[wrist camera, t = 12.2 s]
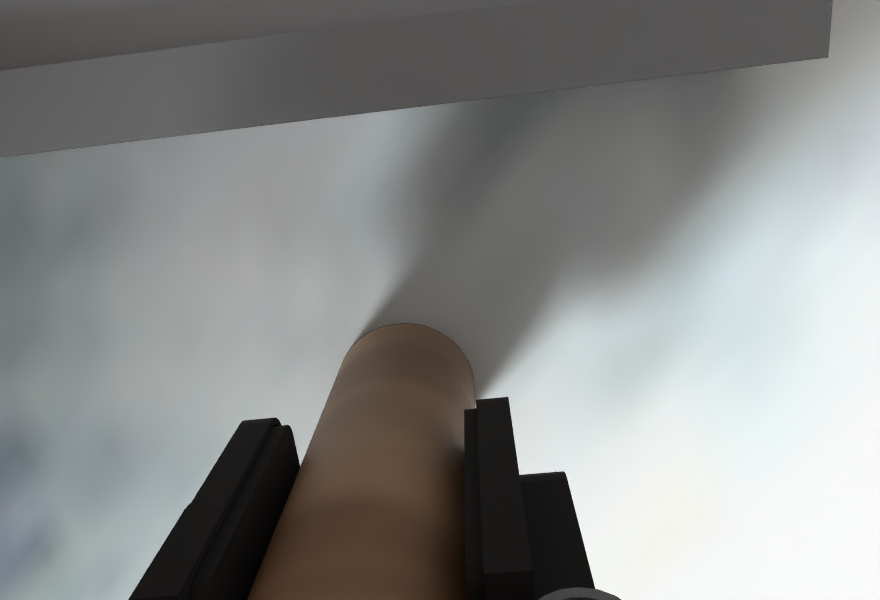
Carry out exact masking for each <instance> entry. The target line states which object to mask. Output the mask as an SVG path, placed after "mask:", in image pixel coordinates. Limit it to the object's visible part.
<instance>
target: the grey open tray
mask: <svg viewBox="0 0 880 600" xmlns="http://www.w3.org/2000/svg"><path fill="white" fill-rule="evenodd" d="M832 1H833V0H0V157H7V156H15V155H23V154H32V153H40V152H48V151H56V150H65V149H73V148H81V147H90V146H98V145H106V144H114V143H123V142H131V141H139V140H148V139H156V138H164V137H172V136H181V135H189V134H197V133H206V132H214V131H222V130H230V129H239V128H247V127H255V126H264V125H272V124H280V123H288V122H297V121H305V120H313V119H322V118H330V117H338V116H346V115H355V114H363V113H371V112H380V111H388V110H396V109H404V108H413V107H421V106H429V105H438V104H446V103H454V102H462V101H471V100H479V99H487V98H496V97H504V96H512V95H520V94H529V93H537V92H545V91H553V90H562V89H570V88H578V87H587V86H595V85H603V84H611V83H620V82H628V81H636V80H645V79H653V78H661V77H669V76H678V75H686V74H694V73H703V72H711V71H719V70H727V69H736V68H744V67H752V66H761V65H769V64H777V63H785V62H794V61H802V60H810V59H819V58H827V57H828V53H829V40H830V27H831V14H832Z"/></svg>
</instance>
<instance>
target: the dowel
mask: <svg viewBox="0 0 880 600" xmlns="http://www.w3.org/2000/svg"><path fill="white" fill-rule="evenodd" d="M464 409H475V395H474V378H473V373H472V370H471V367H470V364H469V362H468V360H467V358H466V356H465V355H464V354H463V352H462V351H461V349H460V348H459V347H458V346H457V345H456V344H455V343H454V342H453V341H451V340H450V339H449V338H448V337H446V336H445V335H443V334H442V333H440V332H438V331H436V330H433V329H431V328H428V327H425V326H421V325H416V324H393V325H387V326H384V327H381V328H378V329H376V330H373V331H371V332H369V333H368V334H366V335H364V336H363V337H362V338H361V339H359V340H358V341H357V342H356V343H355V344H354V345H353V346H352V347H351V349H350V350H349V351H348V353H347V354H346V356H345V358H344V360H343V362H342V365H341V367H340V370H339V372H338V375H337V377H336V380H335V382H334V385H333V387H332V390H331V392H330V395H329V397H328V400H327V402H326V404H325V407H324V409H323V412H322V414H321V417H320V419H319V422H318V424H317V427H316V429H315V432H314V434H313V437H312V439H311V442H310V444H309V447H308V449H307V452H306V454H305V457H304V459H303V462H302V464H301V466H300V469H299V471H298V474H297V476H296V479H295V481H294V484H293V486H292V489H291V491H290V494H289V496H288V499H287V501H286V504H285V506H284V509H283V511H282V514H281V516H280V519H279V521H278V524H277V526H276V529H275V531H274V533H273V536H272V538H271V541H270V543H269V546H268V548H267V551H266V553H265V556H264V558H263V561H262V563H261V566H260V568H259V571H258V573H257V576H256V578H255V581H254V583H253V586H252V588H251V591H250V593H249V595H248V598H247V600H468V593H467V583H466V569H465V475H464Z"/></svg>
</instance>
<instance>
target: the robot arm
mask: <svg viewBox="0 0 880 600" xmlns="http://www.w3.org/2000/svg"><path fill="white" fill-rule="evenodd" d="M299 469H300V464H299V459H298V455H297V450H296V446H295V441H294V437H293V433H292V429H291V428H290V426H289V425H283V426H281V423H280V421H279V420H278V419H277V418H268V419H256V420H245V421H242V422H241V424H240V425H239V427H238V428H237V430H236V431H235V433H234V435H233V436H232V438H231V440H230V441H229V443H228V444H227V446H226V448H225V449H224V451H223V452H222V454H221V456H220V457H219V459H218V461H217V462H216V464H215V465H214V467H213V469H212V470H211V472H210V473H209V475H208V477H207V478H206V480H205V482H204V483H203V485H202V486H201V488H200V490H199V491H198V493H197V494H196V496H195V498H194V499H193V501H192V503H190V504H189V505H188V506H187V508H186V509H185V510H184V512H183V513H182V515H181V516H180V518H179V520H178V521H177V523H176V524H175V526H174V528H173V529H172V531H171V532H170V534H169V536H168V537H167V539H166V540H165V542H164V544H163V545H162V547H161V548H160V550H159V552H158V553H157V555H156V556H155V558H154V560H153V561H152V563H151V564H150V566H149V568H148V569H147V571H146V572H145V574H144V576H143V577H142V579H141V580H140V582H139V584H138V585H137V587H136V588H135V590H134V592H133V593H132V595H131V596H130V598H129V600H247V598H248V595H249V593H250V591H251V588H252V586H253V583H254V581H255V578H256V576H257V573H258V571H259V568H260V566H261V563H262V561H263V558H264V556H265V553H266V551H267V548H268V546H269V543H270V541H271V538H272V536H273V533H274V531H275V529H276V526H277V524H278V521H279V519H280V516H281V514H282V511H283V509H284V506H285V504H286V501H287V499H288V496H289V494H290V491H291V489H292V486H293V484H294V481H295V479H296V476H297V474H298V471H299ZM464 475H465V569H466V583H467V593H468V600H621V599H619V598H618V597H616V596H614V595H612V594H609V593H606V592H603V591H601V590H598V589H595V586H594V582H593V579H592V575H591V571H590V567H589V563H588V559H587V555H586V551H585V547H584V543H583V539H582V536H581V532H580V528H579V524H578V520H577V516H576V512H575V508H574V504H573V500H572V496H571V492H570V489H569V485H568V481H567V477H566V474H565V472H564V471H563V472H551V473H538V474H526V475H519V470H518V463H517V456H516V449H515V442H514V435H513V428H512V421H511V413H510V406H509V399H508V397H502V398H491V399H480V400H476V408H475V409H464Z"/></svg>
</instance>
